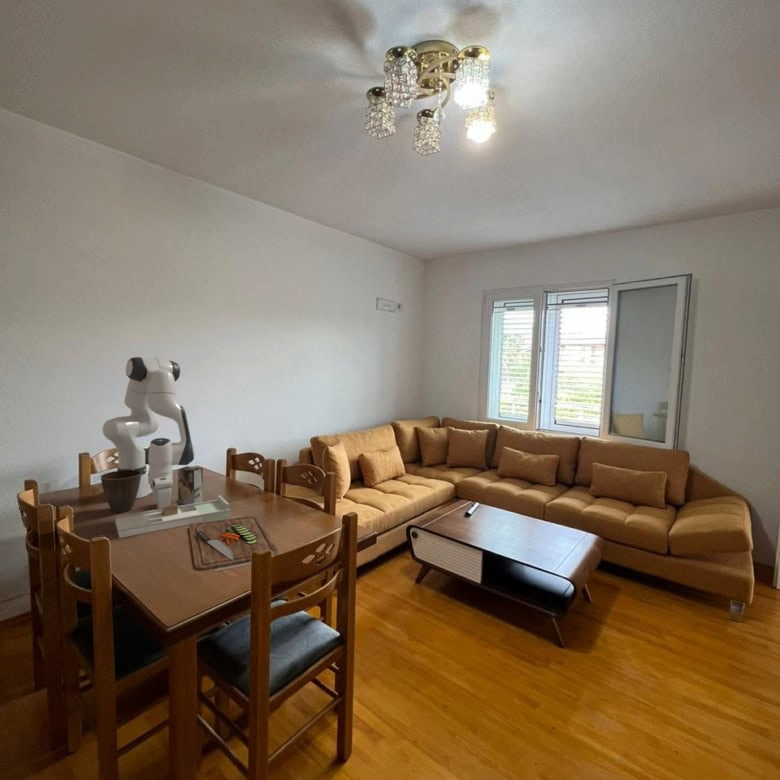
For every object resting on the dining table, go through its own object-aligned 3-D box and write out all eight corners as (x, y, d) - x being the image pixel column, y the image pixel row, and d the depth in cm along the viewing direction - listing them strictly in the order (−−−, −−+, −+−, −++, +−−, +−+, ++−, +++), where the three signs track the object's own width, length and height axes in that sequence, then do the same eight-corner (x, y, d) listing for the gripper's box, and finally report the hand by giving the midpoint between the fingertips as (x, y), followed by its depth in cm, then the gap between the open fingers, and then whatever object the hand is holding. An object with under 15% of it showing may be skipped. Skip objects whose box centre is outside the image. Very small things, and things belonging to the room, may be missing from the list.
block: (162, 512, 175) (162, 503, 175) (175, 510, 178) (175, 501, 178) (164, 516, 171) (164, 506, 171) (177, 514, 174) (177, 504, 174)
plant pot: (102, 519, 172) (102, 481, 171) (99, 508, 184) (98, 472, 183) (144, 511, 182) (144, 475, 181) (138, 502, 193) (138, 468, 192)
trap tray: (115, 524, 168) (115, 510, 167) (219, 506, 192) (219, 494, 192) (119, 538, 155) (119, 523, 155) (229, 516, 180) (229, 504, 179)
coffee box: (203, 500, 198) (203, 467, 197) (194, 505, 192) (194, 470, 191) (186, 498, 200) (187, 465, 199) (177, 503, 194) (177, 469, 193)
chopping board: (281, 560, 144) (281, 551, 144) (196, 576, 131) (196, 567, 131) (255, 516, 183) (256, 509, 183) (188, 525, 170) (188, 518, 170)
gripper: (148, 473, 178) (148, 505, 179) (155, 485, 162) (156, 520, 163) (164, 471, 182) (164, 502, 183) (173, 483, 166) (173, 517, 167)
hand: (160, 511), depth 173 cm, fingers closed, pressing on block
